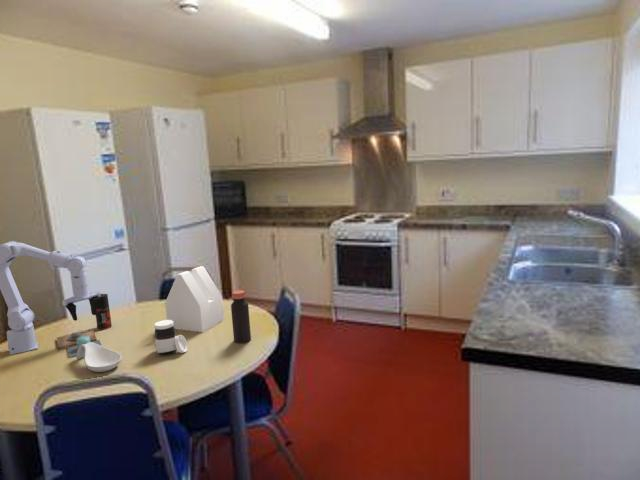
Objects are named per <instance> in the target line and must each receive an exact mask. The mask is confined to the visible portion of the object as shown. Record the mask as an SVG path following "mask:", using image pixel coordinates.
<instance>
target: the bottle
mask: <svg viewBox="0 0 640 480" xmlns="http://www.w3.org/2000/svg"><path fill="white" fill-rule="evenodd" d="M231 295H232V300H233V302H232V303H231V304H230V311H231V320H232V321H231V322H232V333H233V334H232V336H233V341H234V342H235V343H236V344H244V343H248V342H250V341H251V339H252V335H251V322H250V312H249V303H248V301H246V300H245V299H246V291H245V290H240V289H239V290H234V291H232V294H231Z"/></svg>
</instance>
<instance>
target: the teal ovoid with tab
mask: <svg viewBox="0 0 640 480" xmlns="http://www.w3.org/2000/svg"><path fill="white" fill-rule="evenodd" d="M89 342H90V337H89V336H83V337H80V338H78V339H77V345H78V348H79V346H80V345H82V344H87V343H89Z"/></svg>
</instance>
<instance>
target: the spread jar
mask: <svg viewBox="0 0 640 480" xmlns="http://www.w3.org/2000/svg"><path fill="white" fill-rule="evenodd" d="M173 325H174V324H173V321H172V320H167V319H163V320H160V321H157V322H155V323H154V332H153V333H154V341H155V350H156V354H157V355H158V356H170V355H172V354H174V353H176V352H177V351H178V352H179V353H180V354H183V353H186V352H187V351H188V342H187V339H186V338H185V336H184V335H183V334H178V335H177V333H176V329H175V328H174V326H173Z"/></svg>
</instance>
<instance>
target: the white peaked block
mask: <svg viewBox="0 0 640 480" xmlns="http://www.w3.org/2000/svg"><path fill="white" fill-rule="evenodd" d="M164 304H165V305H164V306H165V314H166V315H165V316H166V320H172V321H173V324H174V325H173V326H174V328H175V330H181V329H182V331H189V330H190V331H191V332H197V331H198V332H197V333H204V332H206V331H208V330H210V329H212V328H213V327H215V326H217V325H219V324H220V323H222V322H224V321H225V314H224V303H223V296H222V294H221V292H220V290H219V289H218V287H217V286H216V284H215V283H214V281H213V279H212V278H211V276H210V274H209V273H208V271H207V269H206V268H205V266H202V265H201V266H197V267H194V268H192V269H191V271H190V270H189V271H188V270H186V271H183V272H180V273H177V274H176V276H175V279H174V281H173V283H172V285H171V289H170V290H169V293H168V296H167V297H166V300H165V302H164ZM223 320H224V321H223ZM221 321H222V322H221ZM219 322H220V323H219ZM218 323H219V324H218ZM216 324H217V325H216ZM214 325H215V326H214ZM212 326H213V327H212ZM209 328H210V329H209ZM207 329H208V330H207ZM190 331H189V332H190Z"/></svg>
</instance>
